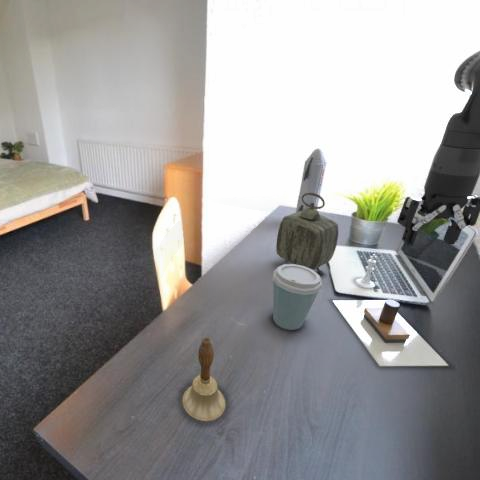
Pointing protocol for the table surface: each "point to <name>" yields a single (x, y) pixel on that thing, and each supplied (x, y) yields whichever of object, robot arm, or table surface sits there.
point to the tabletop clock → (307, 237)
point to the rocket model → (312, 179)
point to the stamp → (387, 322)
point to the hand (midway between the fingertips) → (428, 243)
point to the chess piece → (368, 274)
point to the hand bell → (204, 389)
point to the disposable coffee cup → (294, 294)
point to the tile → (387, 353)
